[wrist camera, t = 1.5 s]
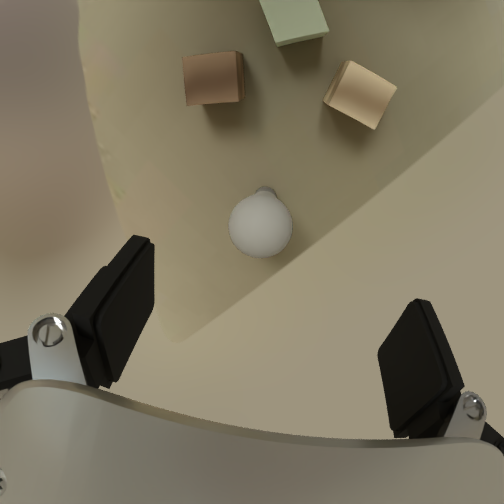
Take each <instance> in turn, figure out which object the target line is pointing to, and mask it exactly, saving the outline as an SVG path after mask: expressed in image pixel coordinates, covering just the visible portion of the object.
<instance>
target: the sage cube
mask: <svg viewBox="0 0 504 504" xmlns="http://www.w3.org/2000/svg"><path fill="white" fill-rule="evenodd" d="M259 1H260V4H261V6H262V9H263V11H264V14H265V17H266V19H267V22H268V24H269V27H270V30H271V32H272V35H273V38H274V40H275V43H276V46H277V47H279V46H283V45H287V44H292V43H296V42H300V41H305V40H309V39H314V38H319V37H323V36H324V35H325V34H327V33H328V32H329V29H328V26H327V23H326V21H325V18H324V15H323V12H322V10H321V7H320V5H319V2H318V0H259Z"/></svg>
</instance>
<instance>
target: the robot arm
mask: <svg viewBox="0 0 504 504" xmlns="http://www.w3.org/2000/svg"><path fill="white" fill-rule="evenodd" d="M153 307H154V244H153V243H150V239H149V238H146V237H142V236H138V235H133V236H132V237H131V238H130V239H129V240H128V241H127V243H126V244H125V245H124V246H123V247H122V248H121V250H120V251H119V252H118V253H117V255H116V256H115V257H114V258H113V260H112V261H111V262H110V263H109V264H108V266H104V267H102V268H101V269H100V270H99V271H98V273H97V274H96V275H95V276H94V278H93V279H92V280H91V281H90V283H89V284H88V285H87V287H86V288H85V289H84V290H83V292H82V293H81V294H80V296H79V297H78V298H77V300H76V301H75V302H74V304H73V305H72V306H71V308H70V309H69V310H68V312H67V313H66V314H65V316H62V315H60V314H55V313H50V314H45V315H42V316H40V317H38V318H37V319H35V320H34V321H33V322H32V324H31V325H30V327H29V329H28V336H24V337H21V338H17V339H14V340H10V341H7V342H3V343H0V504H504V438H503V437H502V436H501V435H500V434H499V433H498V432H496V430H494V429H493V428H492V427H491V426H490V425H489V424H487V422H485V420H486V415H487V411H486V406H485V404H484V402H483V400H482V399H481V398H480V397H479V396H478V395H477V394H475V393H474V392H470V391H467V392H464V393H463V394H461V392H460V390H461V389H462V388H463V387H464V383H463V380H462V377H461V374H460V372H459V369H458V366H457V364H456V361H455V358H454V356H453V354H452V351H451V348H450V346H449V343H448V341H447V338H446V336H445V334H444V331H443V329H442V327H441V324H440V322H439V320H438V318H437V315H436V313H435V311H434V309H433V307H432V304H431V303H430V302H429V301H427V300H422V299H415V300H413V301H412V302H410V303H409V304H408V305H407V307H406V309H405V310H404V312H403V313H402V315H401V317H400V318H399V320H398V321H397V323H396V324H395V326H394V328H393V329H392V330H391V332H390V334H389V335H388V336H387V338H386V339H385V341H384V342H383V344H382V345H381V346H380V348H379V350H378V361H379V366H380V371H381V376H382V381H383V387H384V393H385V398H386V404H387V410H388V416H389V423H390V428H391V430H393V433H394V438H406V437H407V436H409V439H392V440H364V439H363V440H362V439H361V440H360V439H338V438H322V437H309V436H300V435H290V434H283V433H275V432H268V431H261V430H255V429H249V428H243V427H237V426H232V425H227V424H222V423H218V422H213V421H208V420H204V419H200V418H195V417H191V416H188V415H184V414H180V413H176V412H173V411H169V410H165V409H162V408H158V407H154V406H151V405H148V404H144V403H141V402H138V401H135V400H132V399H129V398H125V397H122V396H120V395H116V394H113V393H110V392H107V391H103V390H100V389H98V388H99V386H100V385H101V386H103V387H106V388H108V389H109V388H110V386H111V384H112V382H117V381H118V380H119V378H120V376H121V374H122V372H123V369H124V367H125V365H126V363H127V361H128V359H129V357H130V355H131V353H132V351H133V349H134V346H135V344H136V342H137V340H138V338H139V336H140V334H141V332H142V330H143V328H144V326H145V324H146V322H147V320H148V318H149V316H150V314H151V312H152V310H153Z"/></svg>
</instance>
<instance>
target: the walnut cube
mask: <svg viewBox="0 0 504 504" xmlns="http://www.w3.org/2000/svg"><path fill="white" fill-rule="evenodd" d="M182 60H183V72H184V83H185V93H186V103H187V106H191V105H201V104H211V103H224V102H239V101H240V100H242V99H243V98H245V84H244V67H243V54H242V53H239V52H237V51H228V52H218V53H209V54H201V55H194V56H187V57H182Z"/></svg>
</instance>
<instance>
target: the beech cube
mask: <svg viewBox="0 0 504 504" xmlns="http://www.w3.org/2000/svg"><path fill="white" fill-rule="evenodd" d="M396 88H397V87H396V86H394V85H393V84H391V83H390V82H388V81H386V80H385V79H383V78H381V77H380V76H378V75H376V74H375V73H373V72H371V71H369V70H368V69H366V68H364V67H362V66H360V65H358V64H357V63H355V62H353V61H351V60H350V61H344V62H341V64H340V66H339V68H338V70H337V72H336V74H335V76H334V78H333V80H332V82H331V84H330V86H329V88H328V90H327V92H326V94H325V96H324V99H323V101H324V102H325V103H326V104H327V105H329V106H331V107H333V108H335V109H337V110H339V111H341V112H343V113H344V114H346V115H348V116H350V117H352V118H354V119H356V120H358V121H359V122H361V123H363V124H365V125H367V126H368V127H370V128H372V129H374V130H375V128H376V126H377V125H378V123H379V121H380V119H381V117H382V115H383V113H384V111H385V109H386V108H387V106H388V104H389V102H390V100H391V98H392V96H393V94H394V92H395V90H396Z"/></svg>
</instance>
